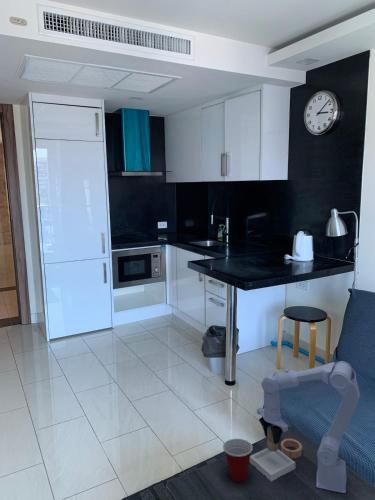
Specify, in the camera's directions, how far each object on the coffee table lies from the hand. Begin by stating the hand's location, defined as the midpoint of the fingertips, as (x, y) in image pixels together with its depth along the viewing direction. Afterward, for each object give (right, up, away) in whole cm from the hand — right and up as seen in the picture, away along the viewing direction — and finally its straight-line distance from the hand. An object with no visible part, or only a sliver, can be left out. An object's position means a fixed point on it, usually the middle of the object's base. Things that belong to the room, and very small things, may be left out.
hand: (272, 439), depth 142 cm
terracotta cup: (+9, -9, +8) cm, 16 cm away
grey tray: (0, -10, +1) cm, 10 cm away
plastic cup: (-13, -12, -4) cm, 18 cm away
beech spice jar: (0, -4, +1) cm, 4 cm away
